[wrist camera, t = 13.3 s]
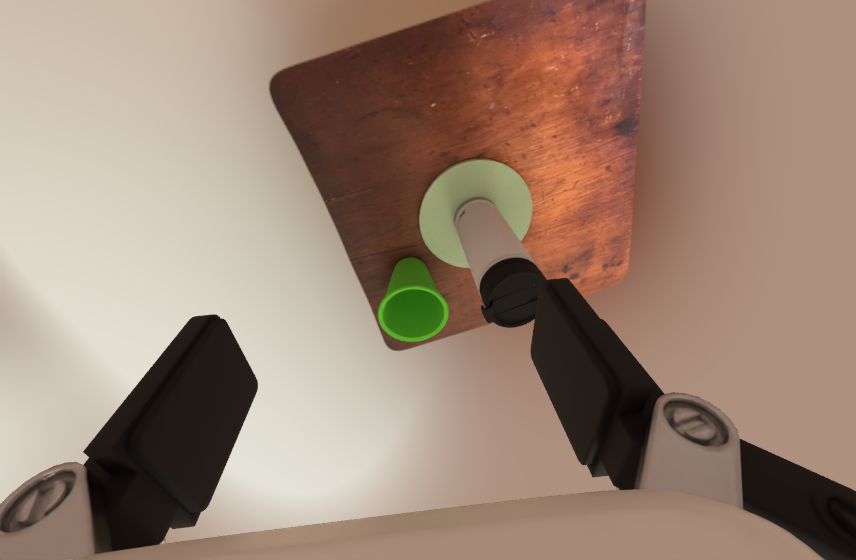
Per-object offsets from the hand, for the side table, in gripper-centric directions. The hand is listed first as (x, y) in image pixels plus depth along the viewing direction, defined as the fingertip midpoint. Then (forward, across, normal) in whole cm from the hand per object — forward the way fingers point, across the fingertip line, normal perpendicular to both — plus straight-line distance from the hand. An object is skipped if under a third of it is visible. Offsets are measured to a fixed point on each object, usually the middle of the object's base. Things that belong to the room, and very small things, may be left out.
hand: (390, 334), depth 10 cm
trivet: (+36, -10, +12) cm, 40 cm away
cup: (+36, 0, +20) cm, 42 cm away
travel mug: (+36, -10, +12) cm, 39 cm away
